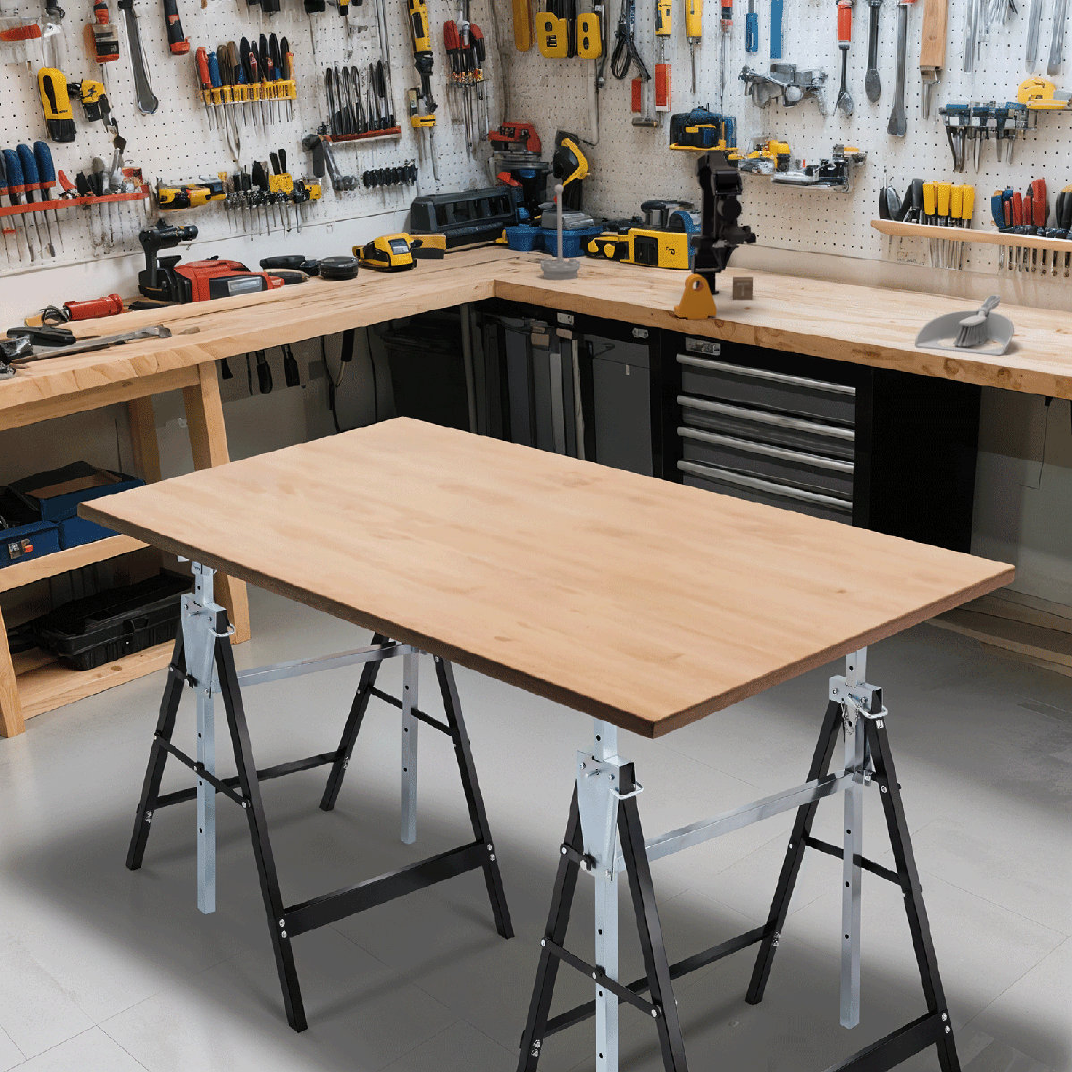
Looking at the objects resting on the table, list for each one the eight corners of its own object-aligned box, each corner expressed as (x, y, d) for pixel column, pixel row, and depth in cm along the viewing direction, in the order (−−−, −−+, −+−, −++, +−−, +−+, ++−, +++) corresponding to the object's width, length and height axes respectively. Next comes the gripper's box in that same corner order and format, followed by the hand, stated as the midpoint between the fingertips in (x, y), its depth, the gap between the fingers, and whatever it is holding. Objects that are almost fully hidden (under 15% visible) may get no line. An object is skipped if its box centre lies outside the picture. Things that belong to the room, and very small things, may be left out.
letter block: (732, 296, 414) (732, 276, 412) (752, 296, 413) (753, 276, 411) (732, 300, 408) (732, 280, 406) (752, 300, 407) (753, 280, 405)
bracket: (709, 313, 391) (710, 271, 386) (716, 318, 384) (717, 275, 380) (673, 315, 389) (673, 273, 385) (679, 320, 383) (679, 277, 378)
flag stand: (586, 278, 449) (585, 184, 438) (550, 281, 444) (548, 187, 433) (570, 272, 460) (569, 181, 449) (534, 275, 455) (532, 183, 445)
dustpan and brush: (911, 347, 345) (914, 310, 342) (951, 324, 371) (954, 289, 368) (1003, 357, 333) (1007, 319, 330) (1038, 332, 359) (1042, 296, 356)
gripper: (711, 221, 374) (710, 278, 380) (768, 215, 381) (766, 271, 387) (690, 216, 383) (689, 271, 389) (746, 210, 391) (744, 265, 396)
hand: (722, 270), depth 390 cm, fingers closed
